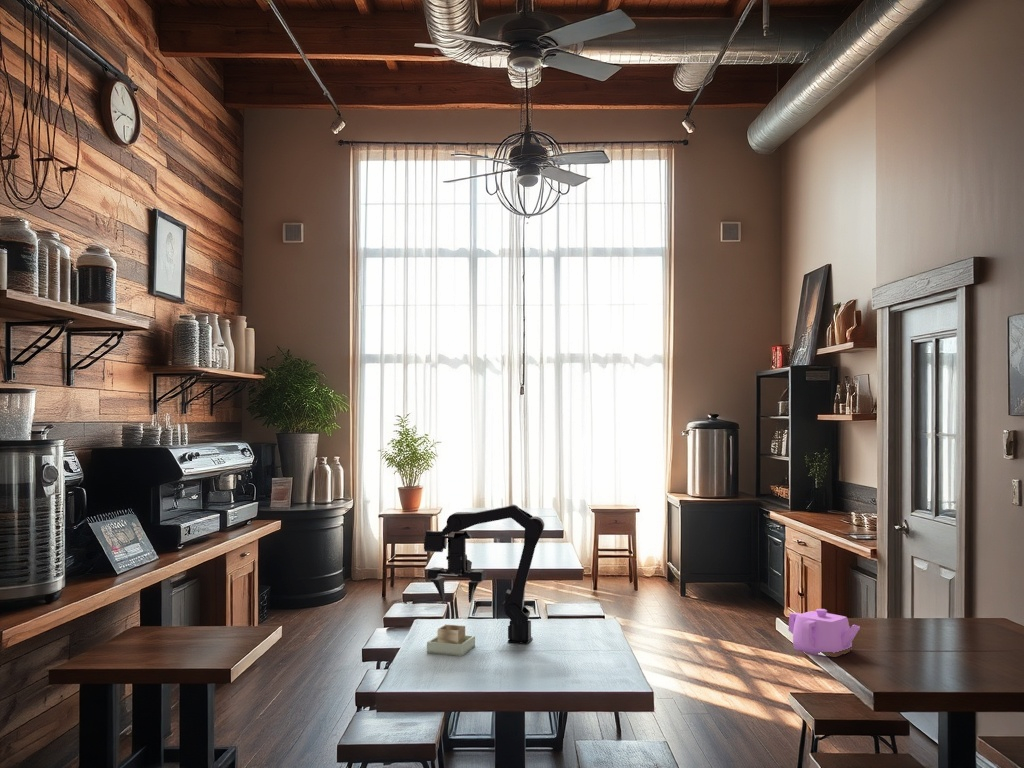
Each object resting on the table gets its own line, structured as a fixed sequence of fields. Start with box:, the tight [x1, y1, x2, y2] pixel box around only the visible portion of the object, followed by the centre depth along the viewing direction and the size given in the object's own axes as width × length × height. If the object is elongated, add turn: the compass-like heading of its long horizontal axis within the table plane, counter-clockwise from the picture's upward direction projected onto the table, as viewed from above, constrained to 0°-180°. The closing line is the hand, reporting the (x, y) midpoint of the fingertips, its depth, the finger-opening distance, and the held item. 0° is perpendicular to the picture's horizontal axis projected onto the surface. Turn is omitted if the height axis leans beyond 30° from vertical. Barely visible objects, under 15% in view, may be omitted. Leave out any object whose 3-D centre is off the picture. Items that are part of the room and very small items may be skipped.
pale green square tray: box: [426, 634, 476, 657], centre depth 249 cm, size 11×11×3 cm
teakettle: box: [788, 608, 861, 656], centre depth 247 cm, size 17×17×12 cm
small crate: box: [437, 624, 466, 644], centre depth 249 cm, size 6×6×6 cm
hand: (456, 601), depth 261 cm, fingers open, 9 cm apart
